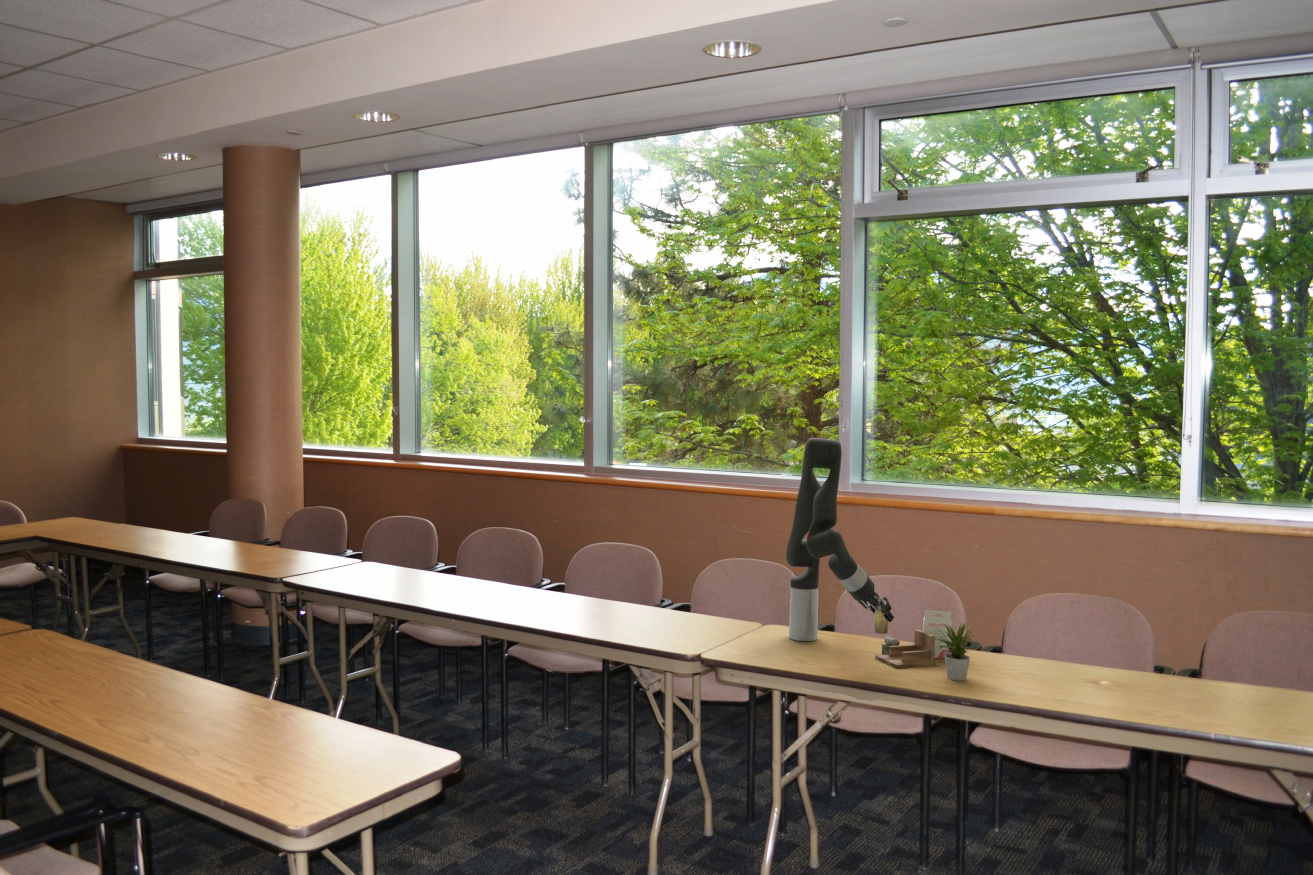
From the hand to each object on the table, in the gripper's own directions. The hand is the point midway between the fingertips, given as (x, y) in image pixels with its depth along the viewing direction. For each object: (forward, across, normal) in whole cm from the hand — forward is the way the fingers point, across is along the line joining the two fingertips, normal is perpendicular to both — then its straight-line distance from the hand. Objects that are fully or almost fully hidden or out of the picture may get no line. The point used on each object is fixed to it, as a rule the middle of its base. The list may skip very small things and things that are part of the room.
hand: (886, 617), depth 292 cm
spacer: (+2, 0, +4) cm, 5 cm away
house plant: (+17, -18, +3) cm, 26 cm away
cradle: (+16, +2, +4) cm, 17 cm away
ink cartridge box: (+25, +1, -5) cm, 26 cm away
